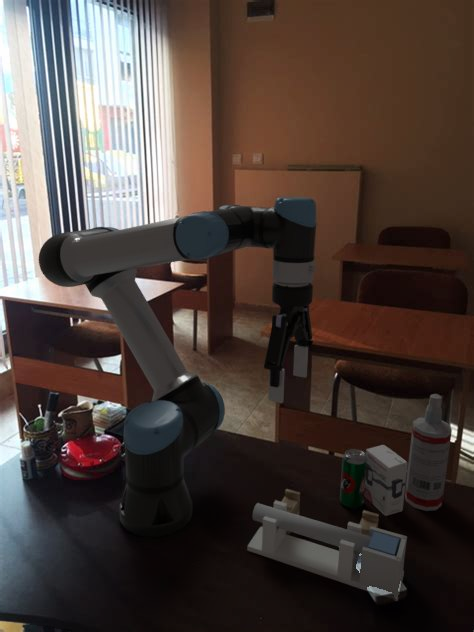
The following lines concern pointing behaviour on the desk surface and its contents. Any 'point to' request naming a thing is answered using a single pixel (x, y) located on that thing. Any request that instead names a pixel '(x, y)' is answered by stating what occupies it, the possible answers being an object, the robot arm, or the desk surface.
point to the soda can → (353, 478)
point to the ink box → (385, 479)
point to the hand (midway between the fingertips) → (288, 388)
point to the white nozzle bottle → (428, 458)
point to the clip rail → (333, 556)
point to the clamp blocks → (294, 504)
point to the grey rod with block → (326, 531)
